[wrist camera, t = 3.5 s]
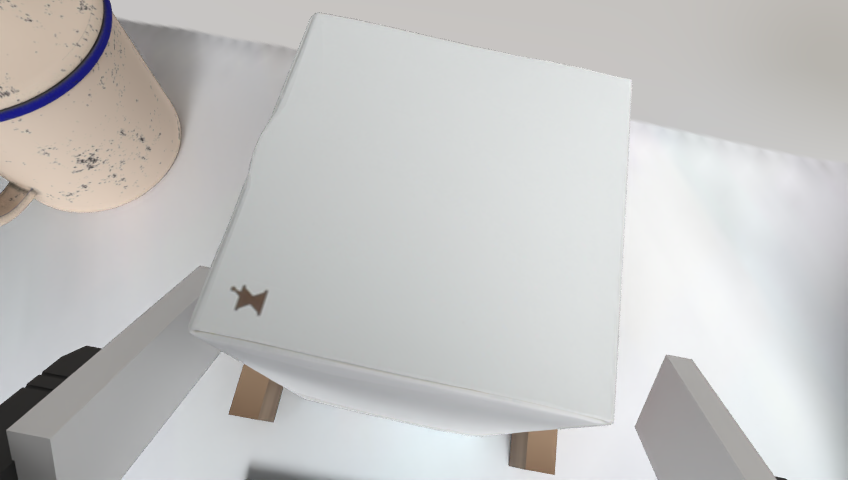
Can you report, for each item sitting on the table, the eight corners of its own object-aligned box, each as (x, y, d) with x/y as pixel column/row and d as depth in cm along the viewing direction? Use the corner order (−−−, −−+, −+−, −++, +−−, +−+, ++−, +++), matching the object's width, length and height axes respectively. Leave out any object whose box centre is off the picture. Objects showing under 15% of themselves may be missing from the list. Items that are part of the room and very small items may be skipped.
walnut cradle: (314, 187, 27) (306, 158, 25) (553, 230, 27) (571, 207, 25) (247, 417, 23) (228, 414, 20) (534, 470, 23) (554, 474, 20)
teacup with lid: (73, 62, 30) (-108, -155, 19) (216, 104, 29) (114, -93, 18) (-59, 239, 25) (-398, 87, 14) (107, 293, 25) (-113, 178, 14)
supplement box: (484, 443, 23) (627, 447, 9) (298, 399, 23) (164, 340, 9) (512, 264, 27) (646, 71, 13) (349, 227, 27) (306, -2, 13)
